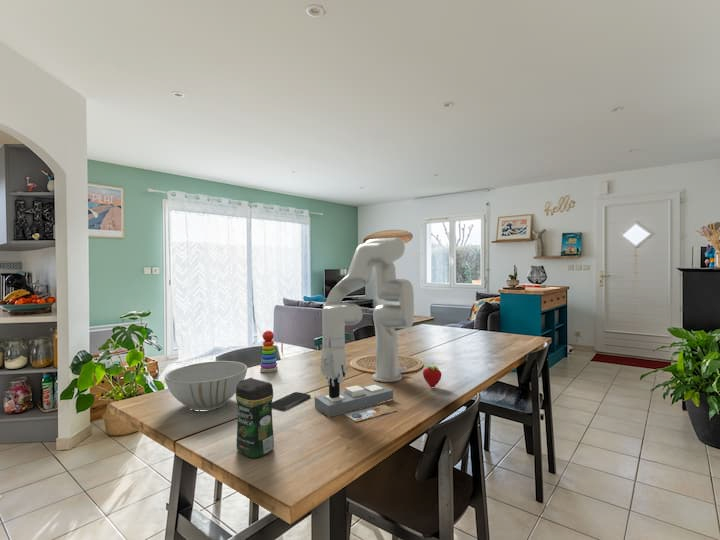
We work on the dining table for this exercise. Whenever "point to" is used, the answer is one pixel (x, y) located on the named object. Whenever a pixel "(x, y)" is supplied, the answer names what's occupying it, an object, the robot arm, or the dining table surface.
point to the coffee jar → (254, 417)
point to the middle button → (354, 391)
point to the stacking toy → (268, 354)
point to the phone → (290, 401)
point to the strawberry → (432, 375)
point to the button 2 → (373, 388)
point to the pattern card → (361, 413)
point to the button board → (352, 401)
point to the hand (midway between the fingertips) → (334, 396)
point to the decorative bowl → (205, 383)
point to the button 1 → (334, 398)
